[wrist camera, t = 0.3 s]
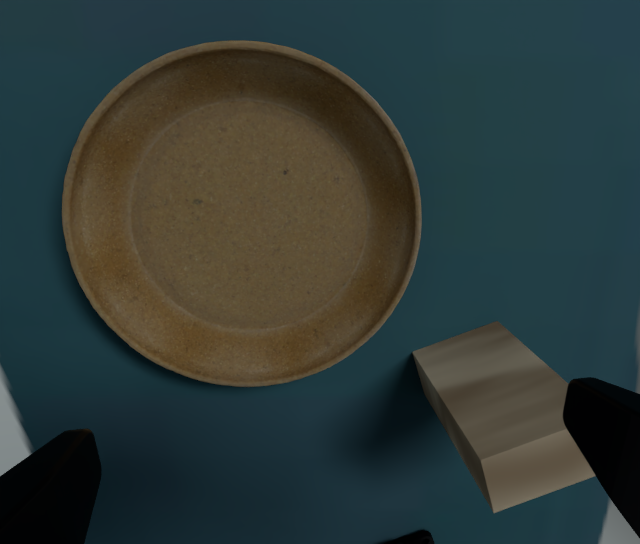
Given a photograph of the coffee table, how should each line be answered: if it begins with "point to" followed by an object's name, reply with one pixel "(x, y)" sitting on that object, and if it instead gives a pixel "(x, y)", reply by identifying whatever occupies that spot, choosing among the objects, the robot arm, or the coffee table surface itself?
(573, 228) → the coffee table surface
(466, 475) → the coffee table surface
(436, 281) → the coffee table surface
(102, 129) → the plant saucer
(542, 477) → the taupe streaky block
